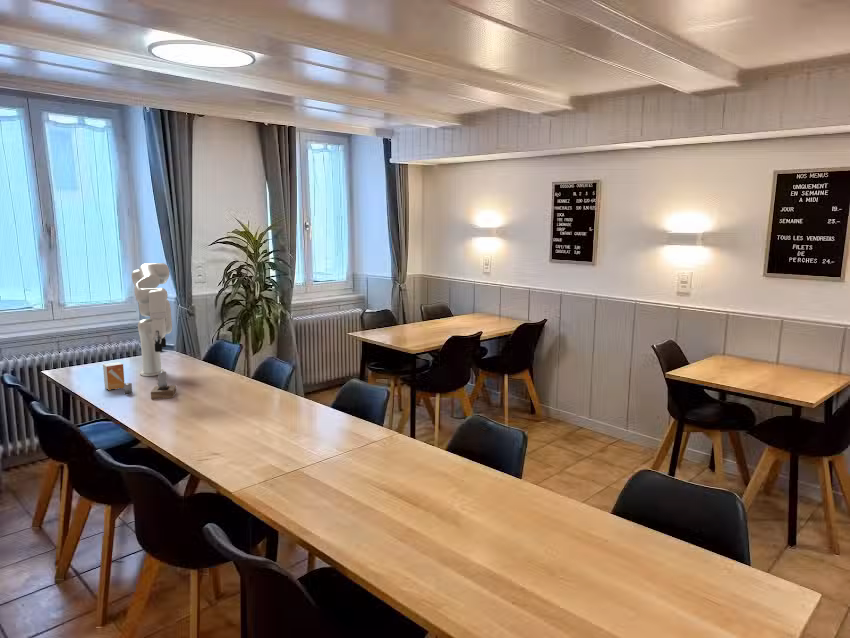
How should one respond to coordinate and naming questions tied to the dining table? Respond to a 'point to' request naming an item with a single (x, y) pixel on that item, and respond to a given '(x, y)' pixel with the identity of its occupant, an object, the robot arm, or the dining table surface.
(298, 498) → the dining table surface
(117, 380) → the small box
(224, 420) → the dining table surface
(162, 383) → the long pin
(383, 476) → the dining table surface
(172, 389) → the socket block
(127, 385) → the short pin
